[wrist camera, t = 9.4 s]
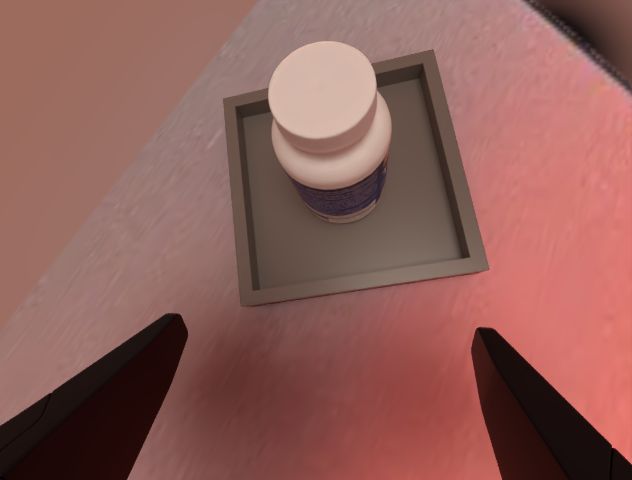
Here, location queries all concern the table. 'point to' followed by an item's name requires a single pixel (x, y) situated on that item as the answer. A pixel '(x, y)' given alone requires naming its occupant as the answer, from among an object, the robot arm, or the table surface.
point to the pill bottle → (331, 129)
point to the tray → (376, 227)
